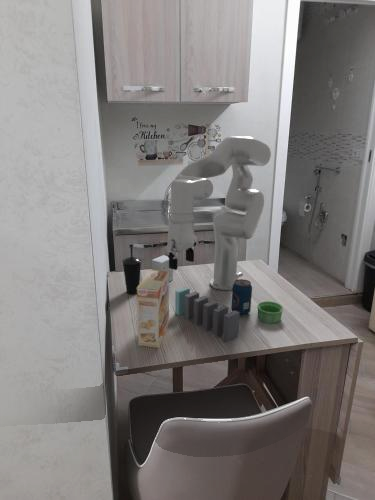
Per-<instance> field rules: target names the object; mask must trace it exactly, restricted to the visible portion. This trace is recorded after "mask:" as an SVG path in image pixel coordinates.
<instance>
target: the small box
mask: <svg viewBox="0 0 375 500" xmlns="http://www.w3.org/2000/svg"><path fill="white" fill-rule="evenodd" d="M151 270H155V271H167V272H169V282H171V281H173V280H174V269H170V268H169V258H168V256H167V255H164V254H162V255H161V256H158V257H156V258H154V259H151Z"/></svg>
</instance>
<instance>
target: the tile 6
mask: <svg viewBox="0 0 375 500" xmlns="http://www.w3.org/2000/svg"><path fill="white" fill-rule="evenodd" d="M239 313H240V312H238V311H235V310H234V311H232V310H231V311H230V312H228V313H227V314H225V315H224V324H223V334H222V341H223V342H225V343H226V344H228V343H230V342H232V341H234V340H237V339H238V338H239V328H240V327H239V325H240V316H239Z"/></svg>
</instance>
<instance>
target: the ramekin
mask: <svg viewBox="0 0 375 500" xmlns="http://www.w3.org/2000/svg"><path fill="white" fill-rule="evenodd" d="M256 308H257V318H258V319H259V320H260V321H261V322H264V323H268V324H275V323H278V322H280V321H281V320H282V314H283V311H284V306H282V305H281V304H280V303H278V302H275V301H267V300H265V301H260V302H259V303H258V304H257V307H256Z"/></svg>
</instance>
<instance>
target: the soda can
mask: <svg viewBox="0 0 375 500" xmlns="http://www.w3.org/2000/svg"><path fill="white" fill-rule="evenodd" d="M252 291H253V286H252V284H251V281H249V280H247V279H242V278H241V279H239V278H238V279H237V280H236V281H235V283H234V284H233V288H232V290H231V305H230V306H231V307H230V309H231V312H232V311H234V310H235V311H238V312H240V313H239V317H247V316H248V315H249V314H250V313H251V309H252V308H251V307H252V297H253V296H252V295H253V292H252Z"/></svg>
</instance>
